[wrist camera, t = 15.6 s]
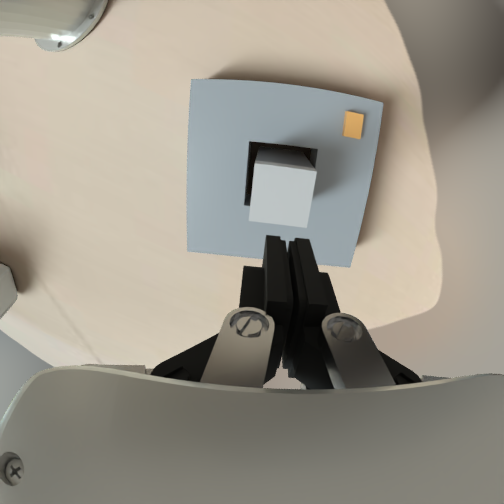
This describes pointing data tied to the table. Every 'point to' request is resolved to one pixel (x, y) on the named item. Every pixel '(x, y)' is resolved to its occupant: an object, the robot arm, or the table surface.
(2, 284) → the stereo radio cassette player
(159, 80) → the table surface
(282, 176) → the plug
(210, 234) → the socket
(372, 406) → the robot arm
